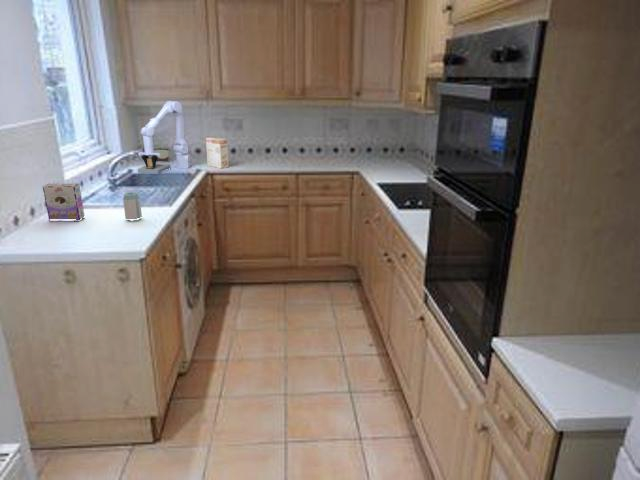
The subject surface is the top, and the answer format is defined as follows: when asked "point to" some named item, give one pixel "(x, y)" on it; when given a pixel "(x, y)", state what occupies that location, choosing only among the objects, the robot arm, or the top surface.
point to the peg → (149, 163)
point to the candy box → (63, 201)
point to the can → (132, 206)
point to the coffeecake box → (217, 152)
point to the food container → (162, 153)
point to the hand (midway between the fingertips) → (150, 167)
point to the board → (156, 170)
